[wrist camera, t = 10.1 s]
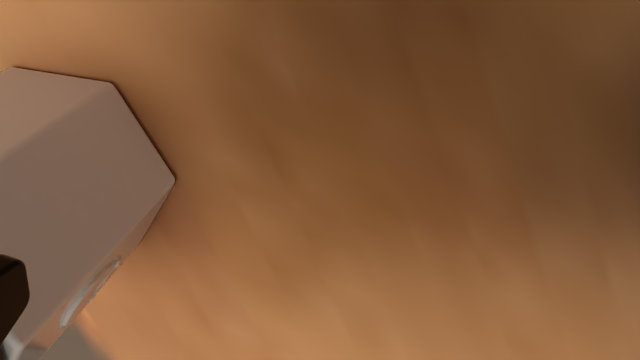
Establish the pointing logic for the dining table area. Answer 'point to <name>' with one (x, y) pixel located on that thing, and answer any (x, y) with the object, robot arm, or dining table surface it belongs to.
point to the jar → (70, 195)
